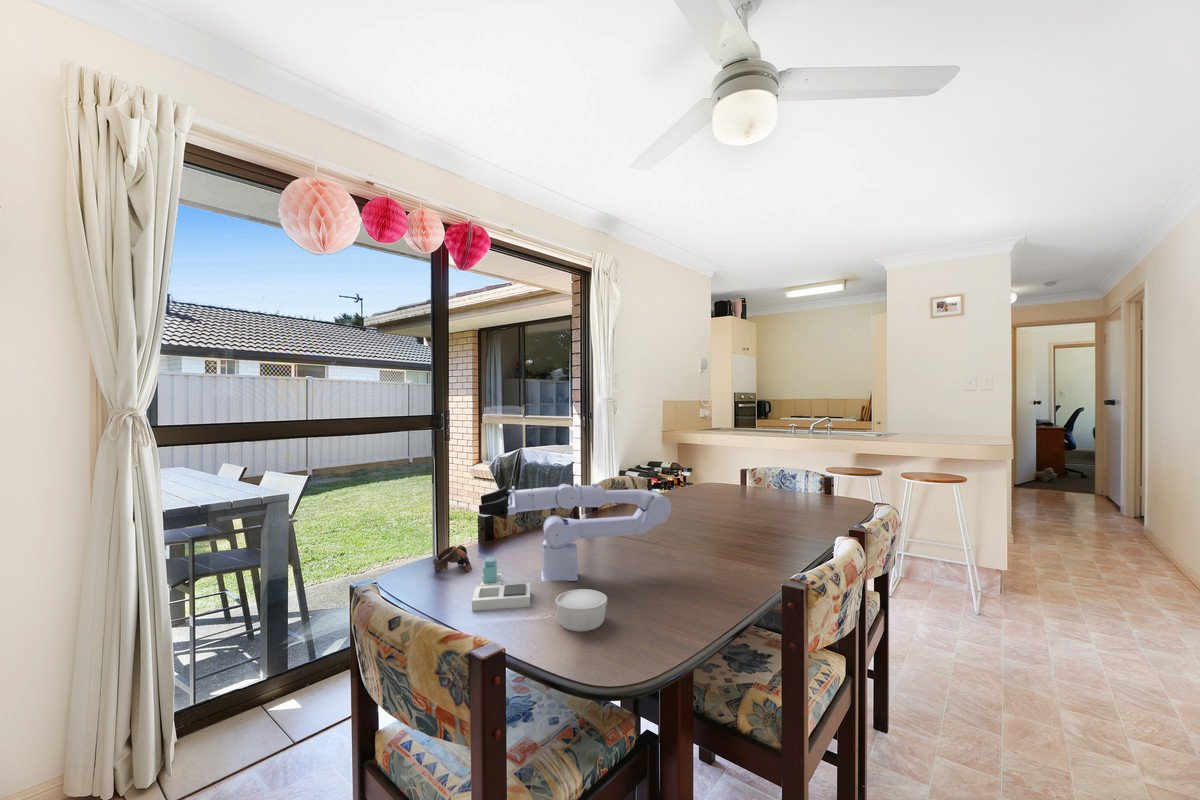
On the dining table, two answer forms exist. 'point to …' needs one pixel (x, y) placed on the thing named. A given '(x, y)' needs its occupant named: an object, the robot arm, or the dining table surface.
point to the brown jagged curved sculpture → (452, 558)
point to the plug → (490, 570)
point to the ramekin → (581, 609)
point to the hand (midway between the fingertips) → (480, 504)
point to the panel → (501, 596)
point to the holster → (492, 583)
